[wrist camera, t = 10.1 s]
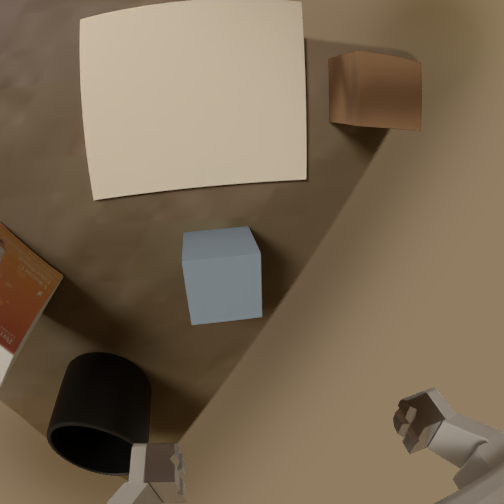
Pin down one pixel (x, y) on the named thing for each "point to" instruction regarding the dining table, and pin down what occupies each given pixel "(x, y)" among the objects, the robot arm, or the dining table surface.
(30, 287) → the small box
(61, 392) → the mug
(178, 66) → the cream flat square panel
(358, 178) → the dining table surface
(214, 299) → the cube
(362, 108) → the block
